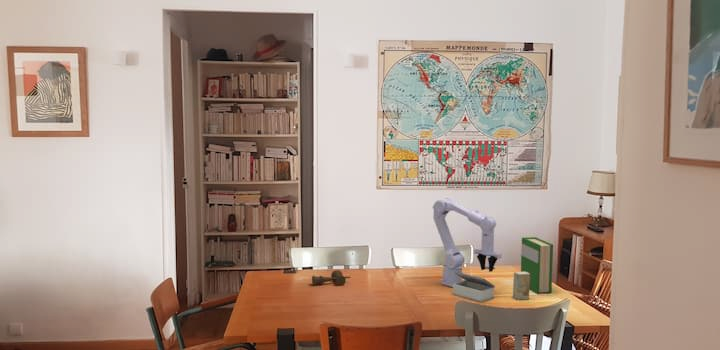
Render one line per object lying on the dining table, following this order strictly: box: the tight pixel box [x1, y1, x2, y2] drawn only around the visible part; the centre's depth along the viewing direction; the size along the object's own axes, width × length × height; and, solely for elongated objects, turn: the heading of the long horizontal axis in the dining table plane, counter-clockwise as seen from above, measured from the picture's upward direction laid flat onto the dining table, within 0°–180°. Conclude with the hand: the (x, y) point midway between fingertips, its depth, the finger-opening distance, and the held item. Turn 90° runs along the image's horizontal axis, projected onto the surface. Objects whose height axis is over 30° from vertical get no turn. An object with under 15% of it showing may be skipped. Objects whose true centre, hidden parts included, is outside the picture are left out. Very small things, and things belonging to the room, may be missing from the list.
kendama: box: [311, 269, 351, 287], centre depth 275 cm, size 6×10×20 cm
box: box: [452, 280, 495, 303], centre depth 255 cm, size 16×10×5 cm, turn 43°
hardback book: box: [520, 236, 554, 295], centre depth 267 cm, size 18×7×24 cm, turn 9°
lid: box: [454, 272, 496, 288], centre depth 255 cm, size 17×10×1 cm, turn 43°
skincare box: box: [512, 271, 530, 301], centre depth 252 cm, size 6×4×12 cm
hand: (486, 270), depth 262 cm, fingers open, 4 cm apart
